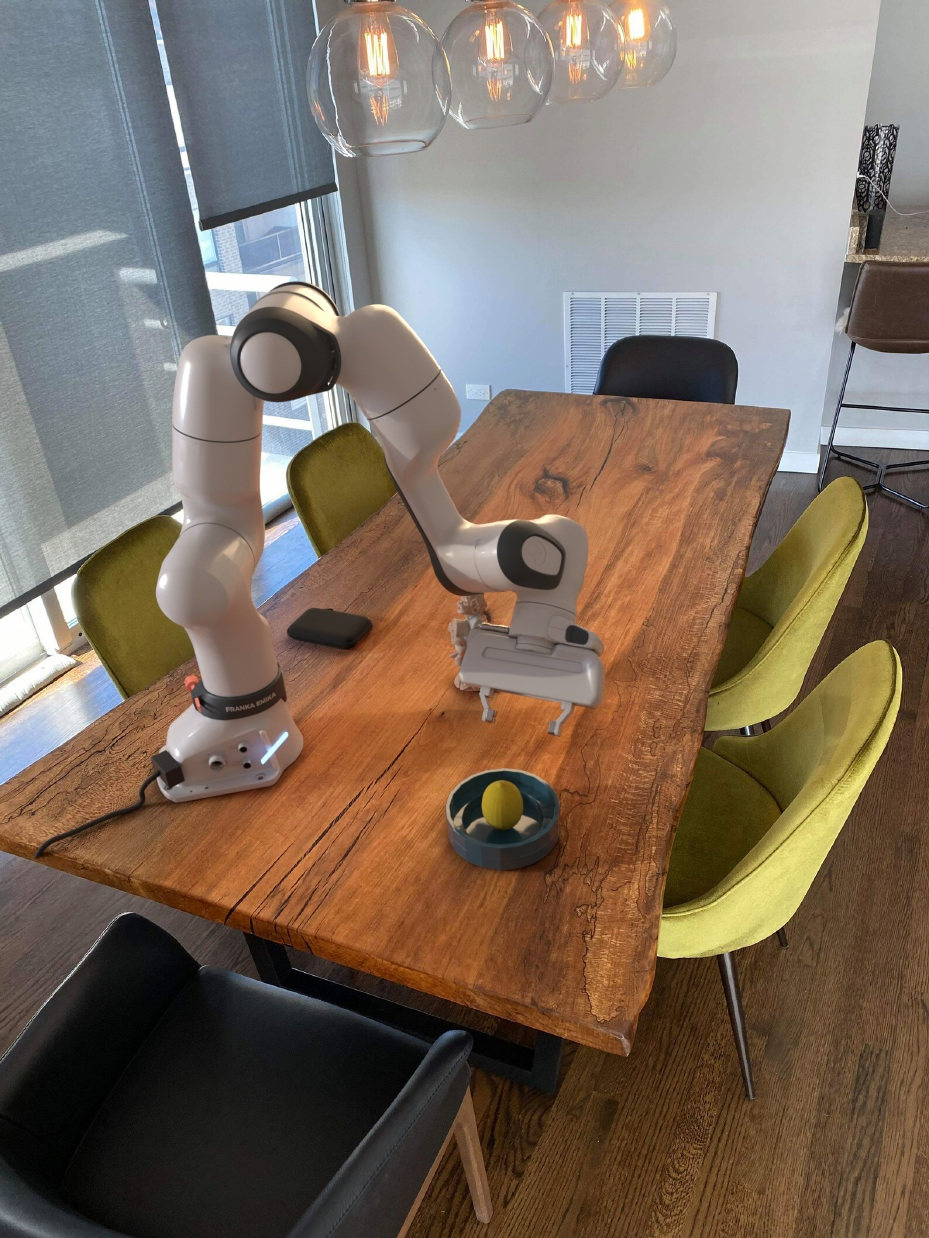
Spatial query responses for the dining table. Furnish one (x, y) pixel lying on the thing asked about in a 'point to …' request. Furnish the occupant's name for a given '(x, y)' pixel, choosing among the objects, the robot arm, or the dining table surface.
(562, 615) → the robot arm
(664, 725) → the dining table surface
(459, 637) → the figurine
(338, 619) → the carrying case
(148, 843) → the dining table surface
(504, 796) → the lemon
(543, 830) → the bowl
